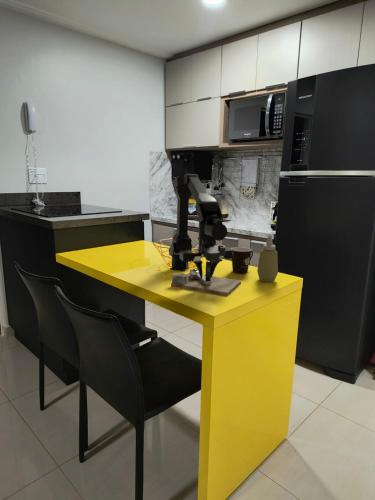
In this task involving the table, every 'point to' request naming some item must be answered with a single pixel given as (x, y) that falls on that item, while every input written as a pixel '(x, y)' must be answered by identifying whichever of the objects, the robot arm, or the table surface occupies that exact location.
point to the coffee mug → (241, 259)
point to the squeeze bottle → (268, 262)
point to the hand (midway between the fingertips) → (206, 277)
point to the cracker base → (216, 287)
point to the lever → (205, 279)
